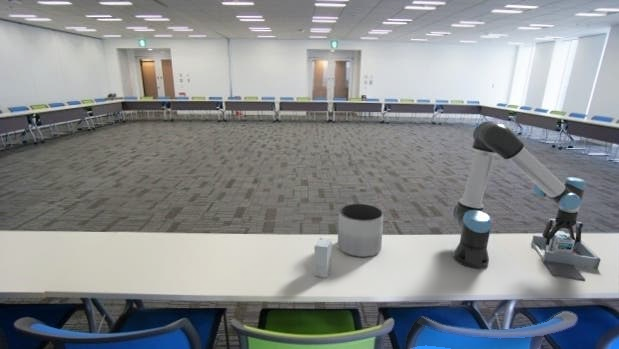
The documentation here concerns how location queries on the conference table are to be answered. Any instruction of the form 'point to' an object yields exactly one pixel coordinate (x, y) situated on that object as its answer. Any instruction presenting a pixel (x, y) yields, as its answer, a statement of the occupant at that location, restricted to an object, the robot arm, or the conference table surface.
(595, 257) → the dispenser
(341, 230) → the planter
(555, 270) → the mat
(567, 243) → the light bulb box
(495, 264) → the conference table surface
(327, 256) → the skincare box
